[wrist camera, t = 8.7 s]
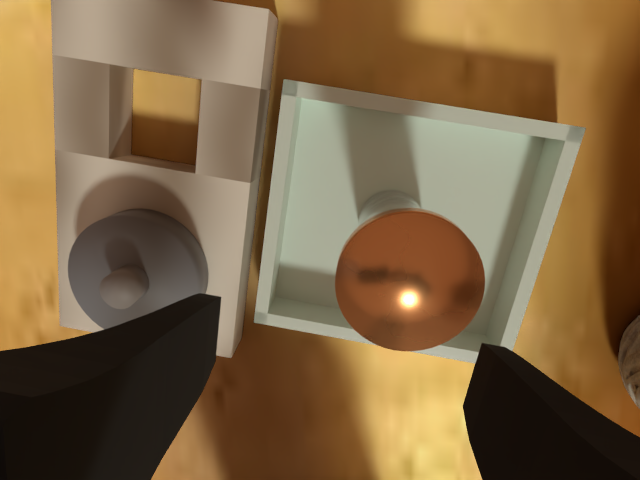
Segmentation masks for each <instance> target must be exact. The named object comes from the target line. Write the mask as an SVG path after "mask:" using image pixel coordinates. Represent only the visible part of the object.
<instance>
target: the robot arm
mask: <svg viewBox="0 0 640 480" xmlns="http://www.w3.org/2000/svg"><path fill="white" fill-rule="evenodd" d="M220 307H221V297H220V296H214V295H208V294H203V293H198V294H195V295H192V296H189V297H187V298H184V299H182V300H180V301H177V302H175V303H173V304H170V305H168V306H166V307H163V308H161V309H158V310H156V311H154V312H151V313H149V314H146V315H144V316H141V317H138V318H136V319H133V320H130V321H127V322H125V323H122V324H119V325H117V326H114V327H111V328H107V329H104V330H101V331H98V332H94V333H90V334H86V335H83V336H79V337H75V338H71V339H66V340H61V341H56V342H51V343H46V344H41V345H36V346H31V347H25V348H19V349H12V350H5V351H0V480H151V478H152V476H153V474H154V472H155V471H156V469H157V467H158V465H159V463H160V461H161V460H162V458H163V456H164V455H165V453H166V451H167V450H168V448H169V446H170V445H171V443H172V441H173V440H174V438H175V436H176V435H177V433H178V432H179V430H180V428H181V427H182V425H183V423H184V422H185V420H186V418H187V417H188V415H189V413H190V412H191V410H192V408H193V407H194V405H195V403H196V402H197V400H198V398H199V397H200V395H201V393H202V391H203V389H204V387H205V385H206V382H207V380H208V378H209V375H210V373H211V371H212V368H213V366H214V363H215V361H216V350H217V339H218V329H219V318H220ZM463 410H464V415H465V421H466V427H467V431H468V436H469V441H470V444H471V447H472V450H473V453H474V456H475V459H476V462H477V465H478V468H479V471H480V474H481V477H482V479H483V480H640V437H638V436H636V435H634V434H633V433H631V432H629V431H628V430H626V429H624V428H622V427H621V426H619V425H618V424H616V423H614V422H613V421H611V420H610V419H608V418H606V417H605V416H603V415H602V414H600V413H599V412H597V411H596V410H594V409H593V408H591V407H590V406H588V405H587V404H585V403H584V402H582V401H581V400H580V399H578V398H577V397H575V396H574V395H573V394H571V393H570V392H568V391H567V390H565V389H564V388H563V387H561V386H560V385H559V384H557V383H556V382H554V381H553V380H552V379H550V378H549V377H548V376H546V375H545V374H544V373H542V372H541V371H540V370H538V369H537V368H535V367H534V366H533V365H531V364H530V363H529V362H527V361H526V360H524V359H523V358H522V357H520V356H519V355H517V354H516V353H514V352H513V351H511V350H509V349H508V348H506V347H503V346H497V345H491V344H486V343H482V344H481V347H480V350H479V354H478V357H477V360H476V364H475V367H474V370H473V374H472V377H471V381H470V384H469V387H468V391H467V394H466V397H465V401H464V404H463Z"/></svg>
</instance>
